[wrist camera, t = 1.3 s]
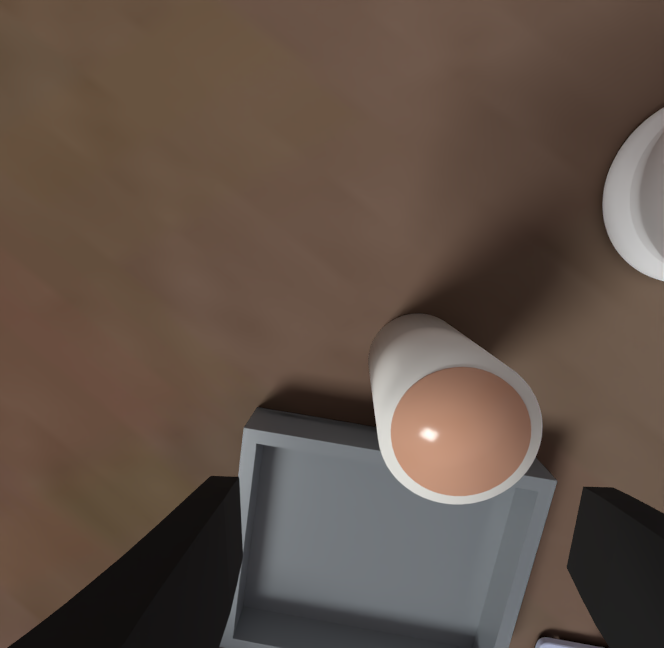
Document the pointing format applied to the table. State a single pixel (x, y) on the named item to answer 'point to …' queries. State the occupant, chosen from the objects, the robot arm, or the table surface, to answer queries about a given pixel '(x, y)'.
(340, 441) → the tray
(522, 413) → the cup
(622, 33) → the table surface
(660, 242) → the jar
